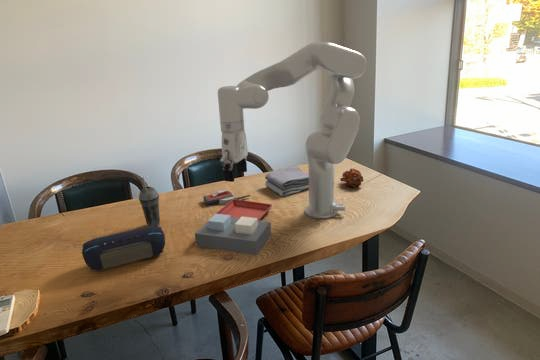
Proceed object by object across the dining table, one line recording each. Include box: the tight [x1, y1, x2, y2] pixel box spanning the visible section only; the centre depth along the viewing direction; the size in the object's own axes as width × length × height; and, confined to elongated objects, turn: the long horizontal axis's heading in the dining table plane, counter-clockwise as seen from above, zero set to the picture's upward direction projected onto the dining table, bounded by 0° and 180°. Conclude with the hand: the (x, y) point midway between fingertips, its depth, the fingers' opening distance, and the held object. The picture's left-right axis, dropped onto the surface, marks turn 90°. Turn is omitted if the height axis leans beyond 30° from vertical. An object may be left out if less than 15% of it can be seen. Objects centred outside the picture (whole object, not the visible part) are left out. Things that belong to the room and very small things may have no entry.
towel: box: [264, 164, 309, 197], centre depth 179 cm, size 15×18×8 cm
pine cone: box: [339, 167, 364, 188], centre depth 178 cm, size 8×8×12 cm
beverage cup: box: [138, 176, 161, 227], centre depth 148 cm, size 7×7×20 cm
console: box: [194, 217, 272, 256], centre depth 137 cm, size 22×14×5 cm, turn 70°
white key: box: [235, 217, 258, 235], centre depth 134 cm, size 6×6×5 cm
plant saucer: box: [212, 199, 273, 221], centre depth 154 cm, size 18×18×3 cm
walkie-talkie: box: [202, 189, 251, 207], centre depth 170 cm, size 9×4×20 cm
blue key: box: [207, 213, 231, 231], centre depth 137 cm, size 6×6×5 cm
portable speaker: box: [81, 225, 166, 272], centre depth 127 cm, size 25×10×10 cm, turn 114°
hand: (236, 176), depth 134 cm, fingers open, 9 cm apart
